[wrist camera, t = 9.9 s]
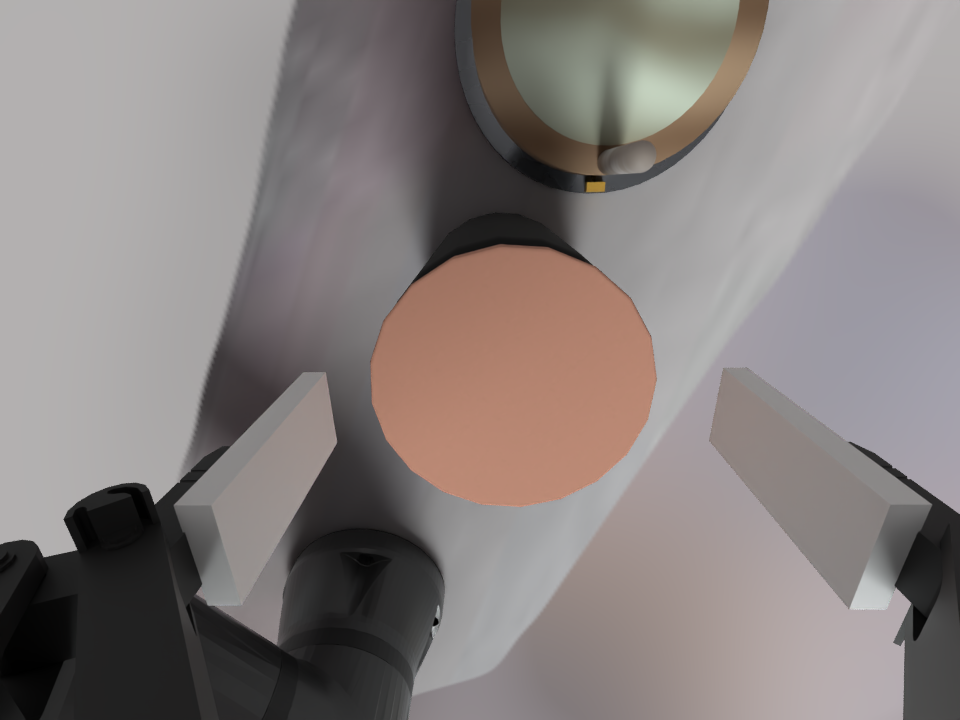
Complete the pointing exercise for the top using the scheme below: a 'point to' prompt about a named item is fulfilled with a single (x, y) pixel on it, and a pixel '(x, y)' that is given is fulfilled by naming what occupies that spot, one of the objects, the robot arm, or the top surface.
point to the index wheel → (611, 75)
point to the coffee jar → (512, 367)
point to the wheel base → (514, 152)
